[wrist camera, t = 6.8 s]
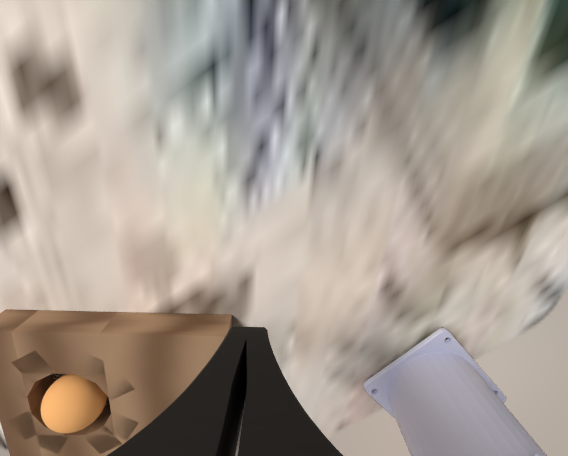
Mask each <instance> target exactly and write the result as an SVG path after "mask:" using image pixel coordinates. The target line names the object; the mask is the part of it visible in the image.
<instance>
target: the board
mask: <svg viewBox="0 0 568 456" xmlns="http://www.w3.org/2000/svg"><path fill="white" fill-rule="evenodd" d="M231 327H232V315H214V314H171V313H127V312H84V311H41V310H5V311H3V312H2V313H0V422H1V425H2V429H3V432H4V436H5V439H6V443H7V446H8V450H9V453H10V456H107V455H108V454H110V453H111V452H113V451H114V450H116V449H117V448H118V447H120V446H121V445H123V444H124V443H125V442H127V441H128V440H129V439H130V438H132V437H133V436H134V435H136V434H137V433H138V432H139V431H141V430H142V429H143V428H145V427H146V426H147V425H148V424H149V423H151V422H152V421H153V420H154V419H155V418H156V417H158V416H159V415H160V414H161V413H162V412H163V411H164V410H165V409H166V408H167V407H168V406H169V405H171V404H172V403H173V402H174V401H175V400H176V399H177V398H178V397H179V396H180V395H181V394H182V393H183V391H184V390H185V389H186V388H187V387H188V386H189V385H190V384H191V383H192V382H193V380H194V379H195V378H196V377H197V375H198V374H199V373H200V372H201V371H202V369H203V368H204V367H205V366H206V364H207V363H208V362H209V360H210V359H211V357H212V356H213V355H214V353H215V352H216V351H217V349H218V348H219V346H220V344H221V343H222V341H223V340H224V338H225V336H226V335H227V333H228V331H229V329H230V328H231ZM52 374H76V375H78V376H81V377H83V378H85V379H88V380H90V381H92V382H95V383H96V384H97V385H98V386H99V387H100V388H101V390H102V391H103V392H104V393H105V394H106V395H107V396H108V397H109V402H110V404H108V405H105V407H104V409H103V411H102V412H101V414H100V415H99V417H98V418H97V419H96V420H95V421H94V422H93V423H91V424H90V425H89V426H87V427H86V428H84V429H82V430H80V431H77V432H73V433H58V432H55V431H53V430H51V429H49V428H48V427H47V426H46V425H45V423H44V422H43V419H42V417H41V403H42V400H43V397H44V395H45V393H46V391H47V390H48V388H49V387H50V386H51V385H52V384H53V383H54V381H53V377H52Z"/></svg>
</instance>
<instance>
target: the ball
mask: <svg viewBox="0 0 568 456" xmlns="http://www.w3.org/2000/svg"><path fill="white" fill-rule="evenodd" d="M106 401H107V395H106V394H105V393H104V392H103V391H102V390H101V388H100V387H99V386H98V385H97V384H96V383H95V382H92V381H90V380H88V379H85V378H83V377H81V376H78V375H76V374H65V375H63V376H61V377H60V378H58V379H57V380H56V381H55V382H54V383H53V384H52V385H51V386H50V387H49V388H48V390H47V391H46V393H45V395H44V397H43V400H42V403H41V417H42V419H43V422H44V423H45V425H46V426H47V427H48V428H49V429H51V430H53V431H55V432H58V433H73V432H77V431H80V430H82V429H84V428H86V427H87V426H89V425H90V424H91V423H93V422H94V421H95V420H96V419H97V418H98V417H99V415H100V414H101V412H102V411H103V409H104V407H105V404H106Z"/></svg>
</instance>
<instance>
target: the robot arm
mask: <svg viewBox="0 0 568 456" xmlns="http://www.w3.org/2000/svg"><path fill="white" fill-rule="evenodd" d="M446 338H448V339H447V340H445V339H446ZM364 389H365V391H366V392H367V393H368V394H369V395H370V396H372V397H373V398H374V399H375V400H376V401H377V402H378V403H379V404H380V405H381V406H382V407H383V408H384V409H385V410H386V411H388V413H390V414H391V415H392V416H393V417H394V418H395V419H396V421H397V423H398V426H399V428H400V430H401V433H402V435H403V437H404V440H405V442H406V444H407V446H408V449H409V452H410V454H411V456H547V455H546V454H545V453H544V452H543V450H542V449H541V448H540V447H539V446H538V444H537V443H536V442H535V441H534V440H533V439H532V437H531V436H530V435H529V434H528V432H527V431H526V430H525V429H524V428H523V427H522V425H521V424H520V423H519V422H518V420H517V419H516V418H515V417H514V416H513V414H512V413H511V412H510V411H509V410H508V409H507V407H506V406H505V405H504V404H503V403H504V402H505V401H506V396H505V395H504V394H503V393H502V392H501V391H500V389H499V388H498V387H497V386H496V385H495V384H494V382H493V381H492V380H491V379H490V378H489V377H488V376H487V374H486V373H485V372H484V371H483V370H482V369H481V368H480V366H479V365H478V364H477V363H476V362H475V361H474V360H473V358H472V357H471V356H470V355H469V354H468V353H467V352H466V350H465V349H464V348H463V347H462V346H461V345H460V344H459V342H458V341H457V340H456V339H455V338H454V337H453V336H452V334H451V333H450V332H449V331H448V330H447V329H446V328H440V329H438V330H437V331H436V332H434V333H433V334H431V335H430V336H429V337H427V338H426V339H424V340H423V341H422V342H420V343H419V344H417V345H416V346H415V347H413V348H412V349H410V350H409V351H407V352H406V353H405V354H403V355H402V356H400V357H399V358H398V359H396V360H395V361H393V362H392V363H391V364H389V365H388V366H386V367H385V368H384V369H382V370H381V371H379V372H378V373H377V374H375V375H374V376H372V377H371V378H370V379H368V380H367V381H366V382H365V383H364ZM373 389H375V390H373ZM244 403H245V407H244ZM243 408H244V415H243V423H242V430H241V437H240V444H239V452H238V456H343V455H342V454H341V453H340V452H339V451H338V450H337V449H336V448H335V447H334V446H333V445H332V444H331V442H330V441H329V440H328V439H327V438H326V437H325V436H324V434H323V433H322V432H321V431H320V429H319V428H318V427H317V426H316V425H315V423H314V422H313V421H312V420H311V418H310V417H309V416H308V414H307V413H306V412H305V410H304V409H303V407H302V406H301V405H300V403H299V401H298V400H297V398H296V397H295V395H294V394H293V392H292V390H291V389H290V387H289V385H288V383H287V381H286V380H285V378H284V376H283V374H282V372H281V370H280V368H279V365H278V363H277V361H276V359H275V356H274V354H273V351H272V348H271V345H270V342H269V338H268V333H267V330H266V328H264V327H231V328H230V329H229V331H228V333H227V335H226V336H225V338H224V340H223V341H222V343H221V344H220V346H219V348H218V349H217V351H216V352H215V353H214V355H213V356H212V357H211V359H210V360H209V362H208V363H207V364H206V366H205V367H204V368H203V369H202V371H201V372H200V373H199V374H198V375H197V377H196V378H195V379H194V380H193V382H192V383H191V384H190V385H189V386H188V387H187V388H186V389H185V390H184V391H183V393H182V394H181V395H180V396H179V397H178V398H177V399H176V400H175V401H174V402H173V403H172V404H171V405H169V406H168V407H167V408H166V409H165V410H164V411H163V412H162V413H161V414H160V415H159V416H158V417H156V418H155V419H154V420H153V421H152V422H151V423H149V424H148V425H147V426H146V427H145V428H143V429H142V430H141V431H139V432H138V433H137V434H136V435H134V436H133V437H132V438H130V439H129V440H128V441H127V442H125V443H124V444H123V445H121V446H120V447H118V448H117V449H116V450H114V451H113V452H111V453H110V454H108V455H107V456H235V452H236V446H237V441H238V436H239V430H240V425H241V419H242V414H243Z"/></svg>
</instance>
